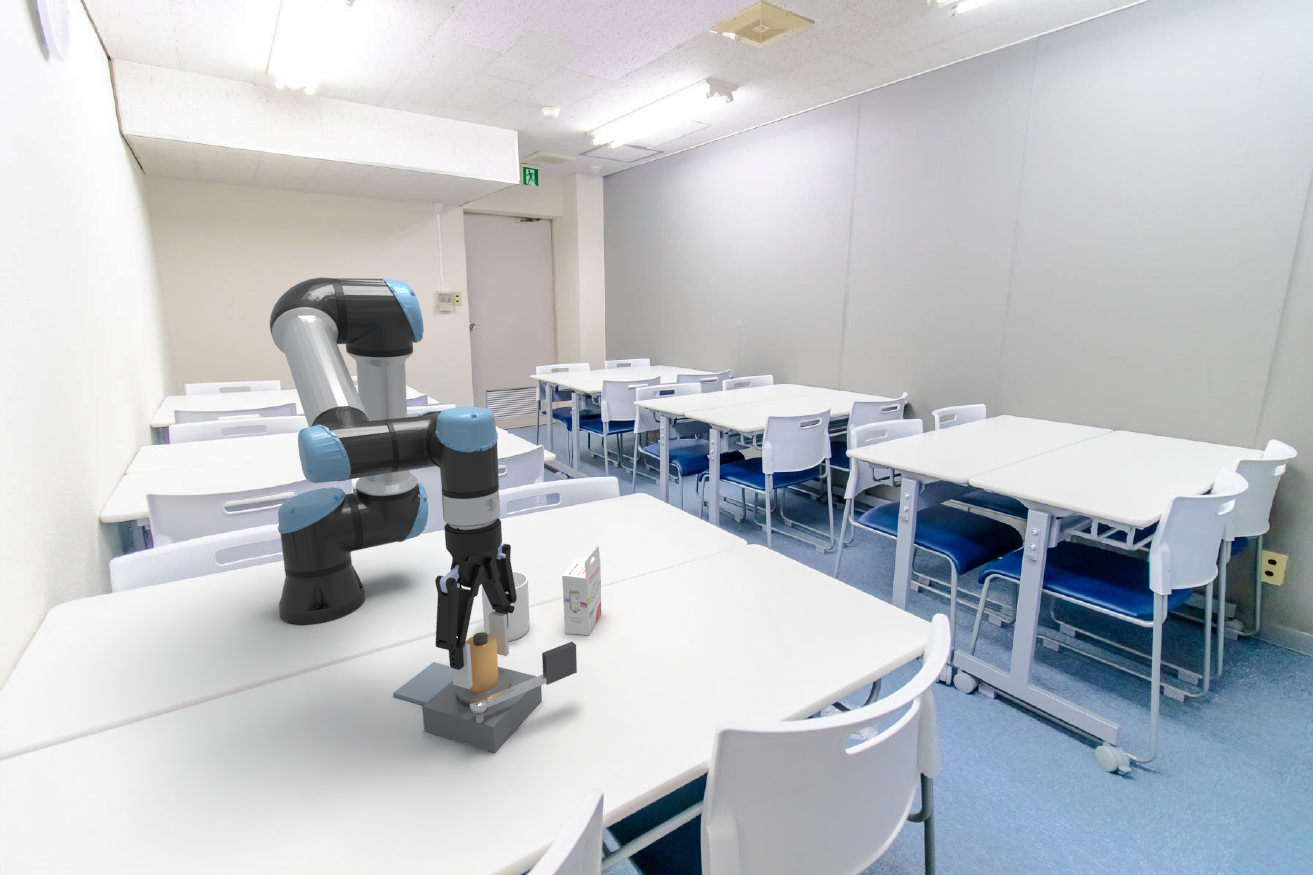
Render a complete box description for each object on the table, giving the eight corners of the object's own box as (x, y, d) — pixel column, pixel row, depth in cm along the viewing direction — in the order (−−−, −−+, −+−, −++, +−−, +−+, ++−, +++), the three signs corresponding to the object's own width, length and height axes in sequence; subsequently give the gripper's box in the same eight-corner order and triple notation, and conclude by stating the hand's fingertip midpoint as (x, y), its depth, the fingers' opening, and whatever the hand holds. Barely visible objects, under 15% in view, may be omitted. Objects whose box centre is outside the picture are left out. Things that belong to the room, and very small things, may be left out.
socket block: (424, 730, 86) (421, 698, 85) (477, 683, 97) (475, 654, 96) (494, 752, 82) (492, 719, 81) (541, 700, 93) (540, 670, 92)
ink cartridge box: (578, 611, 120) (576, 541, 117) (602, 614, 119) (600, 544, 116) (563, 633, 112) (560, 559, 109) (588, 636, 111) (587, 562, 108)
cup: (483, 645, 108) (480, 592, 106) (486, 612, 120) (483, 565, 118) (530, 639, 110) (528, 588, 108) (529, 608, 122) (526, 561, 119)
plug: (447, 725, 88) (440, 643, 85) (480, 694, 95) (475, 618, 92) (491, 738, 85) (485, 654, 82) (521, 705, 92) (517, 627, 89)
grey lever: (467, 709, 83) (465, 679, 82) (570, 666, 92) (569, 639, 91) (474, 718, 81) (472, 688, 80) (578, 674, 91) (578, 646, 90)
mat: (393, 696, 94) (393, 692, 94) (433, 665, 102) (433, 661, 102) (440, 709, 91) (440, 706, 91) (478, 676, 99) (477, 673, 99)
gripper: (443, 552, 73) (456, 718, 77) (537, 501, 91) (542, 637, 96) (394, 543, 75) (409, 705, 80) (495, 495, 94) (502, 629, 99)
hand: (482, 668), depth 88 cm, fingers open, 8 cm apart
